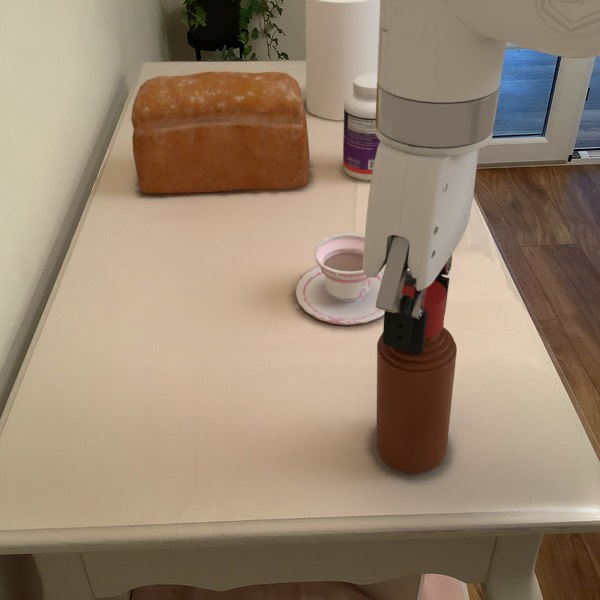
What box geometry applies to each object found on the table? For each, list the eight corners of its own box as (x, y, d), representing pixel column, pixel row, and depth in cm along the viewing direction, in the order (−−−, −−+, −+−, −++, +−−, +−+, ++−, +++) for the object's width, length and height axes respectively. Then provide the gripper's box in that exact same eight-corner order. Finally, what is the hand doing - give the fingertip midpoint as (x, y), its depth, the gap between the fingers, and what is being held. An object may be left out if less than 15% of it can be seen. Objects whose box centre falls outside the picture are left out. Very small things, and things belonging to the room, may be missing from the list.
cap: (404, 303, 56) (405, 271, 54) (450, 315, 54) (453, 283, 52) (384, 331, 53) (384, 299, 51) (432, 345, 51) (435, 312, 49)
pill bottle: (360, 155, 110) (363, 67, 101) (403, 167, 106) (410, 77, 97) (332, 174, 105) (333, 83, 96) (377, 188, 101) (382, 94, 92)
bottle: (454, 431, 63) (471, 282, 53) (435, 482, 58) (448, 331, 48) (389, 412, 65) (393, 267, 55) (365, 460, 61) (365, 311, 51)
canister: (336, 87, 134) (338, -21, 122) (392, 103, 127) (400, -10, 115) (291, 108, 126) (288, -6, 114) (349, 126, 119) (352, 7, 107)
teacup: (385, 334, 74) (389, 290, 71) (282, 316, 77) (280, 272, 74) (404, 274, 83) (408, 231, 80) (311, 259, 86) (311, 217, 83)
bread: (147, 158, 110) (131, 62, 101) (306, 151, 111) (305, 56, 102) (136, 200, 100) (116, 97, 90) (312, 192, 100) (311, 89, 91)
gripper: (425, 62, 50) (409, 265, 61) (321, 150, 38) (324, 381, 50) (527, 76, 47) (490, 287, 58) (447, 177, 35) (420, 415, 47)
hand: (414, 328), depth 54 cm, fingers closed on cap, 4 cm apart
